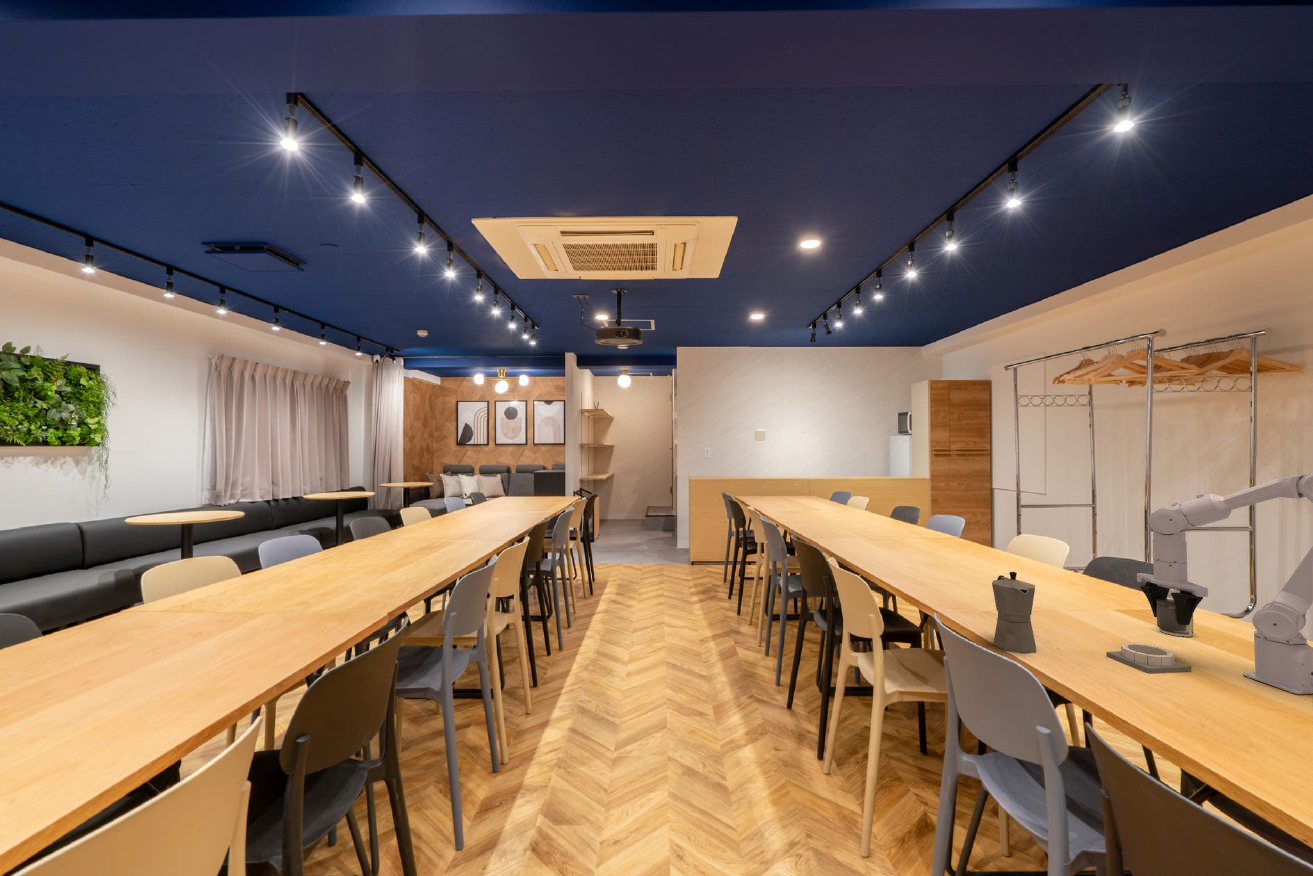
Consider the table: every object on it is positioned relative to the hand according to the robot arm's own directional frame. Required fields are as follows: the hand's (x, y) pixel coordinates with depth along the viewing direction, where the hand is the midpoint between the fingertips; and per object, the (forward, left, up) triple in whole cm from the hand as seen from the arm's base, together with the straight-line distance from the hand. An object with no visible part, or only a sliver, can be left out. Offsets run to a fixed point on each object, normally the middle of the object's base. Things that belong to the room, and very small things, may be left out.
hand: (1171, 620), depth 127 cm
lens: (0, 0, -2) cm, 2 cm away
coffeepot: (+12, +30, -9) cm, 33 cm away
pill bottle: (+16, -18, -9) cm, 26 cm away
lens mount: (-2, +9, -8) cm, 12 cm away
